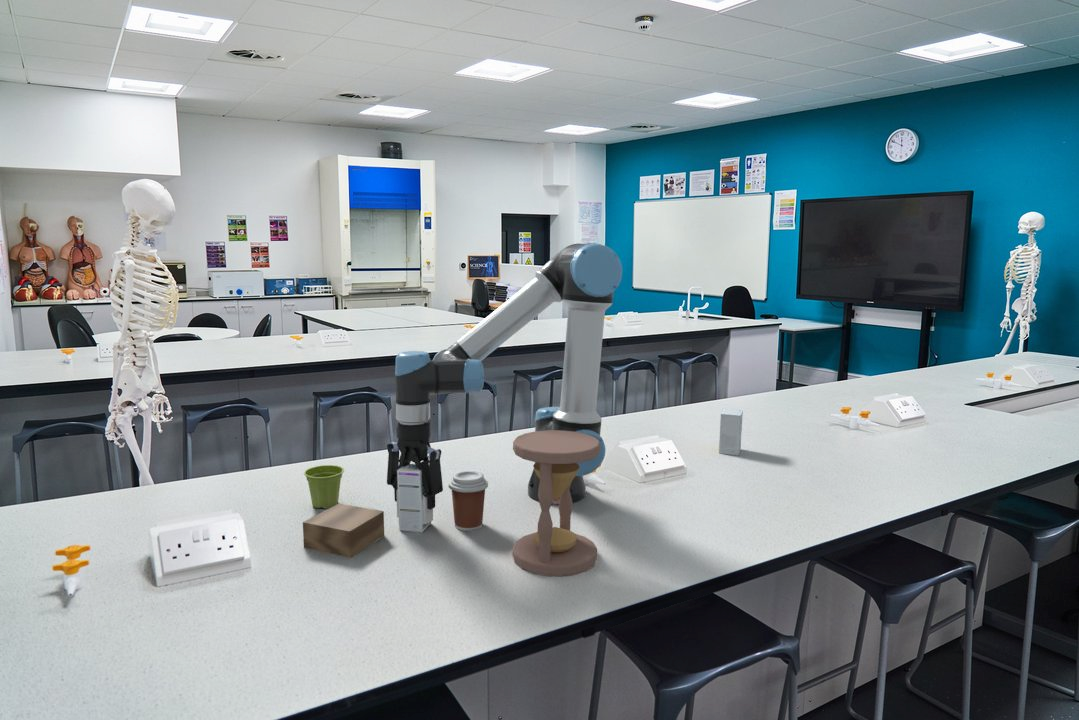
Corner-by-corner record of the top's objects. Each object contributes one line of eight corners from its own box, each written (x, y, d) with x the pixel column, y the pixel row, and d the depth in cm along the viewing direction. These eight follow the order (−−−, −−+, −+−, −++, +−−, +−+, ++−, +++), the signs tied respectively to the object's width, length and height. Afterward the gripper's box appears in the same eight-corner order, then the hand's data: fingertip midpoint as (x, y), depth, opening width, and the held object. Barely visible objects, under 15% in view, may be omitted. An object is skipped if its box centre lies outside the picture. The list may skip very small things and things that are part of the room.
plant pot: (352, 504, 173) (351, 470, 171) (317, 514, 166) (316, 479, 164) (332, 495, 179) (331, 462, 178) (298, 504, 172) (296, 470, 171)
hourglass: (570, 585, 133) (573, 458, 129) (495, 562, 142) (496, 444, 138) (611, 552, 147) (614, 437, 143) (541, 533, 156) (542, 425, 152)
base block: (384, 537, 154) (383, 511, 153) (350, 559, 143) (349, 531, 142) (339, 528, 159) (338, 503, 158) (303, 549, 148) (302, 522, 147)
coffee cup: (451, 534, 155) (451, 483, 153) (446, 519, 164) (445, 470, 162) (491, 531, 157) (492, 480, 156) (484, 516, 166) (484, 467, 164)
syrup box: (422, 533, 156) (421, 470, 154) (397, 530, 157) (396, 468, 155) (431, 523, 161) (430, 463, 159) (407, 521, 163) (406, 461, 160)
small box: (720, 447, 227) (722, 408, 225) (740, 449, 225) (743, 409, 223) (718, 453, 220) (720, 413, 218) (739, 455, 218) (741, 415, 216)
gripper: (459, 422, 154) (459, 521, 157) (390, 412, 163) (392, 505, 167) (438, 430, 147) (440, 533, 151) (368, 418, 157) (370, 515, 160)
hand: (415, 518), depth 159 cm, fingers closed on syrup box, 7 cm apart
